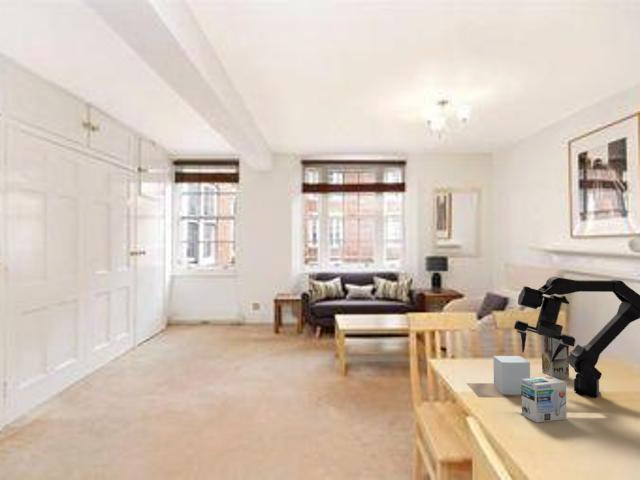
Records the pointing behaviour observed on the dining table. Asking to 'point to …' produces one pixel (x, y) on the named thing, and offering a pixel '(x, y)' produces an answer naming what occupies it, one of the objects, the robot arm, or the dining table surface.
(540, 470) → the dining table surface
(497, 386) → the carton
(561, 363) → the coffee box
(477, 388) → the podium board
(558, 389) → the light bulb box
